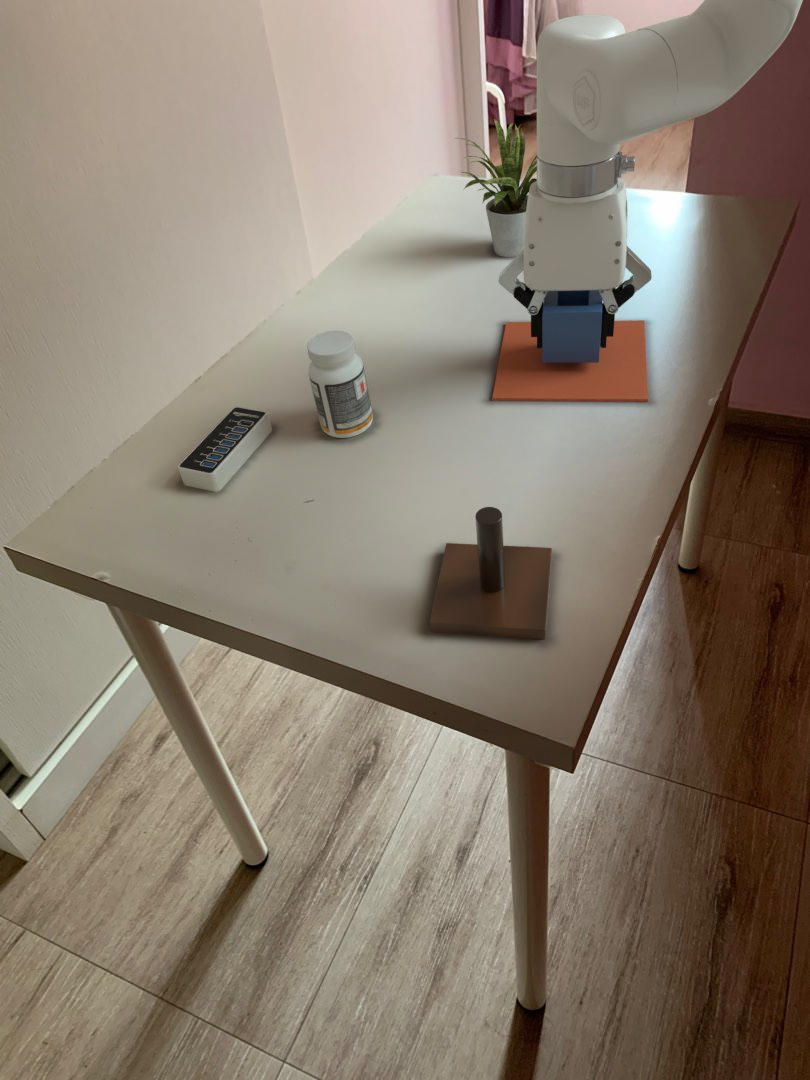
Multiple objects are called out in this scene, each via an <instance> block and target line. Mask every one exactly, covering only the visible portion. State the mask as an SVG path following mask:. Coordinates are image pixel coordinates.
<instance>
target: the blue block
mask: <svg viewBox="0 0 810 1080" xmlns="http://www.w3.org/2000/svg"><path fill="white" fill-rule="evenodd" d="M602 303H603V300H602V298H601V295H600V293H599V290H585V291H548V292H547V294H546V296H545V299H544V305H543V313H542V362H543V363H598V362H599V356H600V339H601V322H602Z"/></svg>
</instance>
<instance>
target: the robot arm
mask: <svg viewBox="0 0 810 1080" xmlns="http://www.w3.org/2000/svg"><path fill="white" fill-rule="evenodd" d="M803 1H804V0H703V2H702V3H701V4H700V5H699V6H698V7H697V8H696V9H695V10H694V11H693V12H692V13H690V14H687V15H684V16H683V15H682V16H680V17H676V18H673V19H669V20H665V21H661V22H659V23H655V24H652V25H648V26H645V27H641V28H637V29H636V30H633V31H629V32H626V29H625V26H624V24H623V23H622V22H621V21H620V20H619V19H617V18H615V17H613V16H610V15H605V14H579V15H573V16H567V17H563V18H560V19H557V20H555V21H553V22H551V23H549V24H547V25H546V26H545V27H544V28H543V29H542V30H541V32H540V34H539V37H538V39H537V45H536V155H537V158H536V160H537V163H536V166H537V171H536V179H537V181H535V182H534V183H532V184H531V186H530V190H529V192H528V194H527V195H528V201H527V208H526V219H525V234H524V249H523V250H522V252H521V253H520V254H519V255H518V256H517V257H514V259H512V261H510V263H509V264H508V265H506V267H505V268H504V269H502V271H500V273H499V277H498V283H499V285H500V286H502V288H504V289H505V290H507V292H508V293H510V294H511V295H513V298H514V299H515V300H516V301H517V302H519V303H520V304H521V305H522V306H523V307H524V308H525V309H527V313H528V314H529V315H530V322H531V337H537V348H542V313H543V305H544V299H545V296H546V294H547V292H548V291H585V290H599V293H600V295H601V298H602V322H601V339H600V347H601V348H606V340H607V337H613V334H614V321H615V319H616V318H615V317H616V314H617V312H618V311H619V308H621V307H622V306H623V305H624V304H626V303H627V302H628V301H629V300H630V299H632V298H633V296H634V295H635V293H636V292H638V291H639V290H641V289H642V288H643V287H645V286H646V285H647V284H649V282H650V281H651V280H652V277H653V276H652V269H651V268H650V267H649V266H648V265H647V264H646V263H645V262H644V261H643V259H641V258H640V257H639V256H638V255H637V254H636V253H635V252H634V251H633V250H632V249H631V248H630V247H629V246H628V195H627V187H626V181H625V179H623V178H622V175H626V173H634V172H635V164H636V156H635V155H633V156H632V155H631V156H628V155H627V154H623V151H620V148H621V144H623V143H626V142H629V141H633V140H635V139H638V138H642V137H644V136H646V135H647V136H648V135H650V134H652V133H656V132H657V131H659V130H662V129H665V128H668V127H671V126H675V125H677V124H681V123H684V122H686V121H689V120H692V119H696V118H698V117H701V116H704V115H707V114H710V113H711V112H713V111H714V110H716V109H717V108H719V107H721V106H722V105H723V104H725V103H726V102H728V101H729V100H731V98H733V97H734V95H736V94H737V93H738V92H739V91H740V90H741V89H742V88H743V87H744V86H745V85H746V84H747V83H748V82H749V81H750V80H751V79H752V78H753V77H754V75H755V74H756V73H758V71H759V70H760V69H761V68H762V67H763V66H764V65H765V64H766V63H767V62H768V60H769V59H770V58H771V57H772V56H773V55H774V54H775V53H776V52H777V51H778V49H779V48H780V47H781V46H782V44H783V43H784V42H785V40H786V39H787V37H788V36H789V34H790V32H791V31H792V28H793V26H794V24H795V22H796V20H797V17H798V15H799V12H800V9H801V7H802V4H803ZM626 270H627V271H629V272H630V274H632V275H631V276H630V278H628V279H626V280H624V279H625V274H626ZM522 272H523V281H524V282H522V281H520V279H519V278H518V276H519V275H521V273H522Z"/></svg>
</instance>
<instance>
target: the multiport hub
mask: <svg viewBox="0 0 810 1080" xmlns="http://www.w3.org/2000/svg"><path fill="white" fill-rule="evenodd" d="M272 432H273V427H272V424H271V420H270V416H269V412H267V411H265V410H259V409H253V408H248V407H247V408H246V407H243V406H242V407H241V406H235V407H232V408H231V410H229V412H228V413H227V414H226V415H225V416H224V417H223V418H222V419H221V420H220V421H219V422H218V423H217V424H216V425H215V426H214V427H213V428H212V429H211V430H210V432H209V433H207V434H206V436H205V437H204V438H203V439H202V440H201V441H200V442H199V443H198V444H197V445H196V446H195V447H194V448H193V450H191V451H190V452H189V453H188V455H186V457H185V458H184V459H183V460H181V462H180V463H178V465H177V470H178V472H179V474H180V477H181V480H182V482H183V485H184V486H186V487H191V488H194V489H200V490H205V491H209V492H213V493H217V492H220V491H221V490H222V489H223V488H224V487H225V486H226V484H228V482H229V481H230V480H231V479H232V478H233V477H234V475H235V474H236V473H237V472H238V471H239V470H240V469H241V467H242V466H243V465H244V464H245V463H246V462H247V460H248V459H249V458H251V456H252V455H253V454H254V452H255V451H256V450H257V449H258V448H259V447H260V446H261V444H263V442H264V441H265V440H266V439H267V437H268V436H269V435H270V434H271V433H272Z"/></svg>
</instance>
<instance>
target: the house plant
mask: <svg viewBox="0 0 810 1080" xmlns="http://www.w3.org/2000/svg"><path fill="white" fill-rule="evenodd" d="M493 122H494V125H495V129H496V134H497V144H498V149H499V154H500V155H499V156H500V159H501V160H500V162H501V164H500V165H495V164H494V163H493V161H492V160H491V159H490V158H489V156H488V155H487V154H486V152H485V151H484V150H483V149H482V147H481V146H479V145H478V144H477V143H476V142H475V141H473V140H471V139H467V138H463V137H455V139H458V140H462V141H466V142H469V143H466V145H468V146H473V147H475V148H477V149H478V150H479V151H480V152H481V153H482V155H484V157H485V158H484V157H479V156H478V155H477V156H475V155H469V156H464V157H463V159H468V158H479V159H481V160H474V161H473V160H472V161H470V162H469V164H470V163H474V162H475V163H476V162H478V163H479V164H481V165H482V166H484V167H485V168H486V170H487V171H488V173H489V174H490V175H491V176H492V178H489V179H483V178H479V177H477V176H476V175H475V174H473V173H471V172H467V171H461V173H463V174H466V175H469V176H471V177H472V178H473V179H472V180H470V181H469V182H467V183H466V185H465V187H463V191H465V190H466V188H469V187H471V186H474V185H476V184H480V185H481V186H482V187H483V188H479V189H477V190H476V191H477V192H478V191H481V190H487V191H486V192H484V194H483V198H482V205H483V204H484V202H486V201H487V200H489V199H490V198H492V197H494V198H492V199H490V200H489V201H488V202H487V203H486V205H485V211H486V216H487V222H488V226H489V230H490V236H491V240H492V245H493V250H494V253H495V254H496V255H497V256H500V257H504V258H516V257H517V256H518V255H519V254H520V253H521V252H522V250H523V249H524V234H525V219H526V208H527V201H528V195H529V190H530V186H531V184H532V183H534V182H535V181H537V177H536V178H535V177H533V176H534V174H535V173H537V154H536V155H535V157H534V159H533V160H531V161H532V162H531V163H530V165H529V166H528V169H527V171H526V174H525V176H524V178H523V180H522V181H521V179H522V173H523V168H524V158H525V152H526V140H525V134H524V132H523V131H524V130H523V128H521V125H519V126H518V127H517V125H516V124H514V121H513V122H511V123H510V124H509V125H508V128H507V130H506V135H505V130H504V129H503V127H502V125H501V124H500V122H499V121H498V120H497V119H495V118H493ZM513 125H514V126H513ZM513 127H514V131H515V132H514V136H513ZM519 129H520V131H519ZM512 136H513V139H512ZM532 177H533V178H532ZM520 182H521V183H520ZM494 184H496V185H497V187H498V188H499V189H498V188H497V187H496V186H495V185H494ZM487 185H490V186H491V187H493V188H494V189H495V190H496V191H497V192H496V191H495V190H493V189H490V188H489V187H488V186H487Z"/></svg>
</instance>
